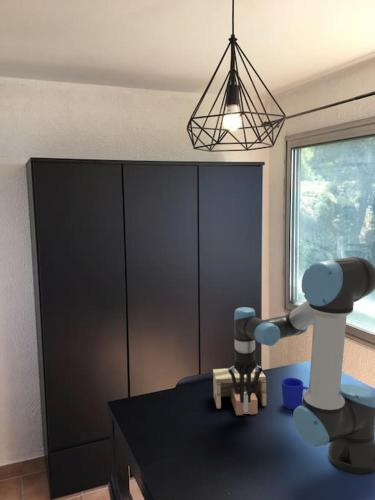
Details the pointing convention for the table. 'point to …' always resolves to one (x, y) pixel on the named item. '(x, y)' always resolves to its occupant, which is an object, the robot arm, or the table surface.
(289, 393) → the mug
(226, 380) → the shelf nook
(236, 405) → the tan brown block
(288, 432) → the table surface
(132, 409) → the table surface
